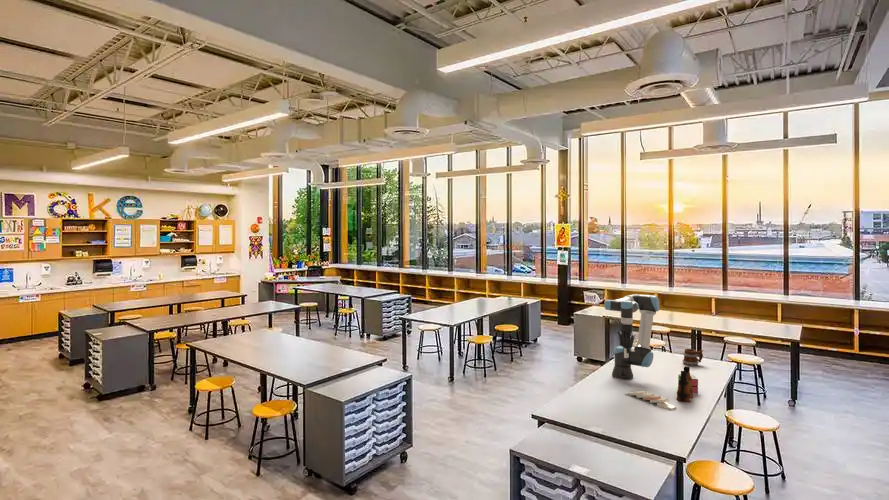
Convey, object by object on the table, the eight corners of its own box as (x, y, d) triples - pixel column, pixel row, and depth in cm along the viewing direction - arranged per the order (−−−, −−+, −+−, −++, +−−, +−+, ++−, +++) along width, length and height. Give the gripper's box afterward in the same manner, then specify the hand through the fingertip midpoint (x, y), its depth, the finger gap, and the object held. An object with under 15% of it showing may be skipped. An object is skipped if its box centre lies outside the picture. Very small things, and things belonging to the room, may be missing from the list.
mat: (623, 395, 319) (623, 394, 319) (633, 392, 324) (633, 391, 324) (655, 406, 298) (655, 406, 298) (665, 403, 303) (665, 403, 303)
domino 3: (649, 400, 304) (662, 399, 296) (654, 398, 307) (667, 398, 299) (650, 402, 304) (663, 402, 296) (655, 401, 306) (668, 400, 298)
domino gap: (642, 397, 309) (655, 397, 300) (647, 396, 311) (660, 395, 303) (643, 400, 308) (656, 399, 300) (648, 398, 311) (661, 398, 303)
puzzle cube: (698, 393, 321) (698, 379, 320) (682, 392, 323) (682, 378, 322) (693, 388, 331) (693, 374, 330) (677, 387, 333) (678, 374, 332)
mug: (681, 360, 398) (685, 343, 396) (700, 365, 392) (704, 348, 390) (680, 364, 388) (684, 347, 386) (700, 369, 381) (704, 352, 379)
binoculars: (680, 393, 321) (681, 364, 320) (694, 396, 317) (694, 366, 316) (675, 401, 307) (675, 371, 306) (689, 404, 302) (689, 373, 301)
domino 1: (629, 392, 317) (641, 392, 309) (634, 391, 320) (646, 391, 312) (630, 395, 317) (642, 395, 309) (635, 394, 320) (647, 393, 311)
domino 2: (636, 395, 313) (648, 394, 305) (641, 393, 316) (653, 393, 307) (636, 397, 313) (649, 397, 304) (641, 396, 315) (654, 395, 307)
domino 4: (657, 402, 300) (671, 408, 291) (662, 400, 302) (676, 406, 294) (656, 404, 300) (671, 410, 291) (661, 403, 302) (676, 409, 294)
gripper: (615, 322, 325) (614, 356, 326) (631, 325, 314) (630, 360, 315) (622, 321, 329) (622, 354, 330) (638, 324, 318) (638, 358, 319)
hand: (626, 357), depth 323 cm, fingers closed
